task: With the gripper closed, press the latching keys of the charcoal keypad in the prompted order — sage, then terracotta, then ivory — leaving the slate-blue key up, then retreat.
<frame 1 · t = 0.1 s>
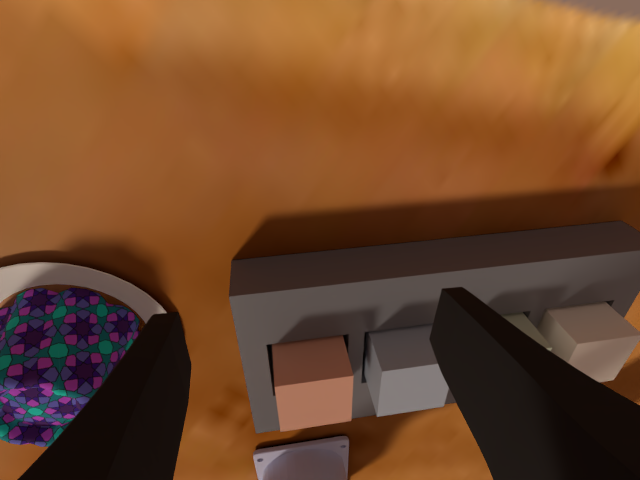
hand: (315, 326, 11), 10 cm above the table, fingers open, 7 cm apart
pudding: (77, 333, 23), on the table
key ivory: (577, 342, 24), point 4 cm above the table, slide at 0.0 cm
key sage: (493, 353, 23), point 4 cm above the table, slide at 0.0 cm
key terracotta: (311, 379, 22), point 4 cm above the table, slide at 0.0 cm
keypad board: (425, 313, 26), on the table
key slate: (405, 366, 22), point 4 cm above the table, slide at 0.0 cm
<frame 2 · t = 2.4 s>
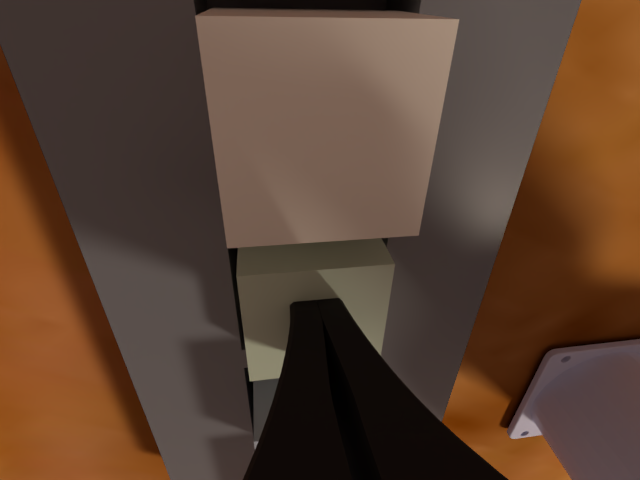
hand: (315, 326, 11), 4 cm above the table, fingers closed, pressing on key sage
key ivory: (316, 121, 8), point 4 cm above the table, slide at 0.0 cm
key sage: (309, 289, 12), point 3 cm above the table, slide at 1.0 cm, touching gripper
keypad board: (300, 295, 16), on the table
key slate: (312, 421, 14), point 4 cm above the table, slide at 0.0 cm
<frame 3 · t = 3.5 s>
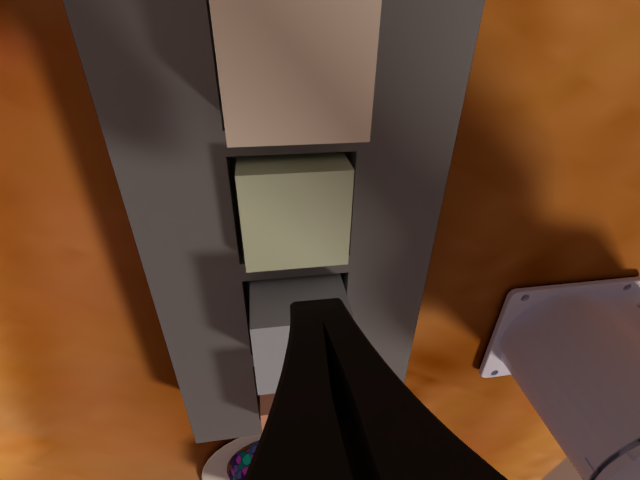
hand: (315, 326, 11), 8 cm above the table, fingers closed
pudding: (280, 458, 31), on the table
key ivory: (292, 57, 11), point 4 cm above the table, slide at 0.0 cm
key sage: (292, 204, 15), point 2 cm above the table, slide at 1.5 cm
key terracotta: (301, 404, 20), point 4 cm above the table, slide at 0.0 cm
keypad board: (289, 231, 19), on the table
key slate: (299, 330, 17), point 4 cm above the table, slide at 0.0 cm
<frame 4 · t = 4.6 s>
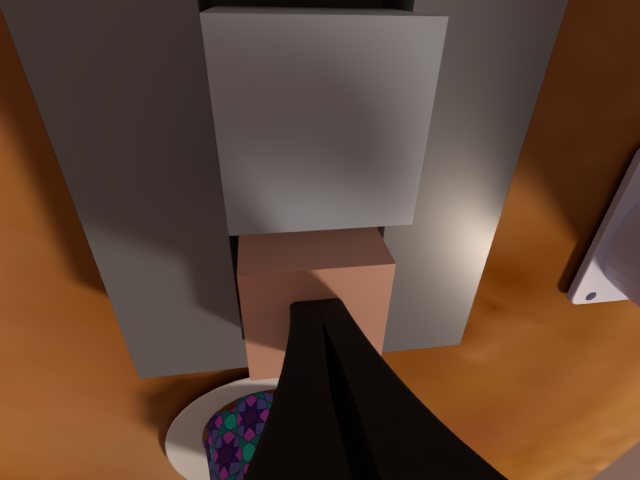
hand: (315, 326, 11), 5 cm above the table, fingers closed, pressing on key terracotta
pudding: (276, 425, 22), on the table
key terracotta: (310, 289, 12), point 3 cm above the table, slide at 0.6 cm, touching gripper
key slate: (314, 115, 8), point 4 cm above the table, slide at 0.0 cm
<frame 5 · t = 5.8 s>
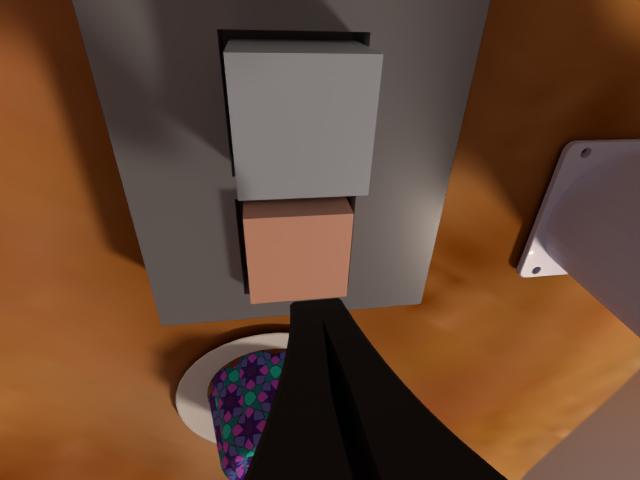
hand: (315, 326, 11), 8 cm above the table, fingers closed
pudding: (271, 385, 26), on the table
key terracotta: (295, 239, 16), point 2 cm above the table, slide at 1.5 cm
keypad board: (287, 8, 14), on the table
key slate: (299, 117, 12), point 4 cm above the table, slide at 0.0 cm
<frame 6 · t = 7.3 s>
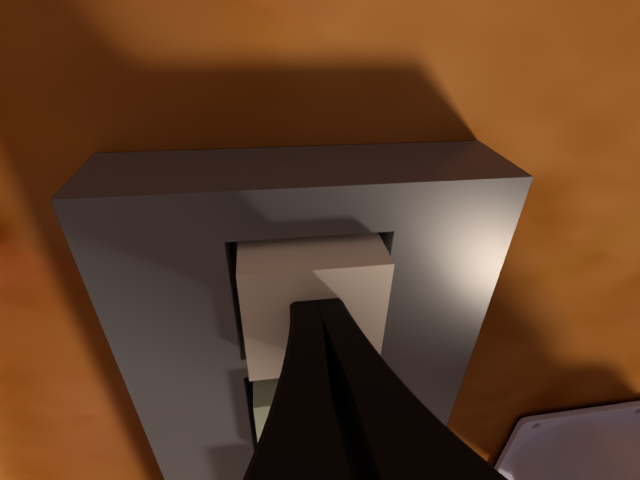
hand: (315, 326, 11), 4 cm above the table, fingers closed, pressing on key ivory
key ivory: (309, 289, 12), point 2 cm above the table, slide at 1.4 cm, touching gripper
key sage: (308, 395, 15), point 2 cm above the table, slide at 1.5 cm
keypad board: (302, 387, 18), on the table
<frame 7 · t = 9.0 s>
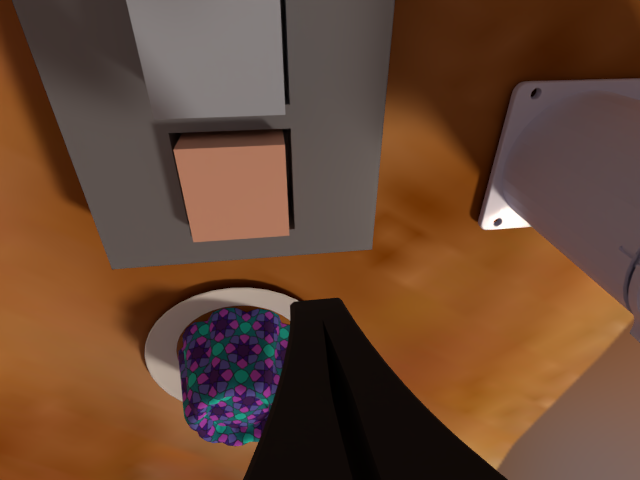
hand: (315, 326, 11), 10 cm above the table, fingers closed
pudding: (242, 346, 26), on the table
key terracotta: (238, 179, 16), point 2 cm above the table, slide at 1.5 cm
key slate: (216, 39, 12), point 4 cm above the table, slide at 0.0 cm
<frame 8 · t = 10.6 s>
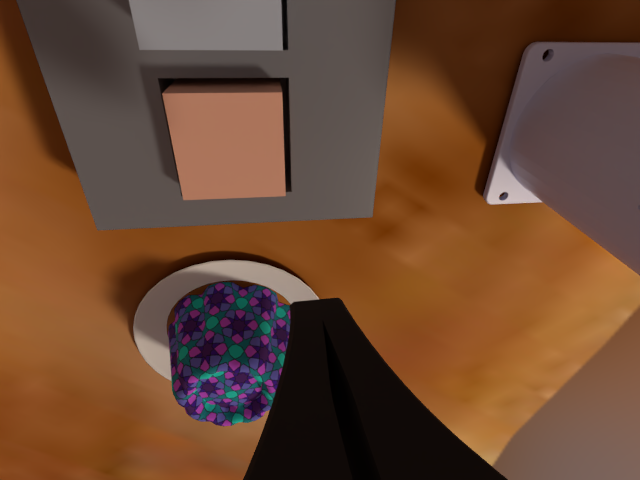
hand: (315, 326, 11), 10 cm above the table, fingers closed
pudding: (235, 325, 25), on the table
key terracotta: (232, 135, 15), point 2 cm above the table, slide at 1.5 cm
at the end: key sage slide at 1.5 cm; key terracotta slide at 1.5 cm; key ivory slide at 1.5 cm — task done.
